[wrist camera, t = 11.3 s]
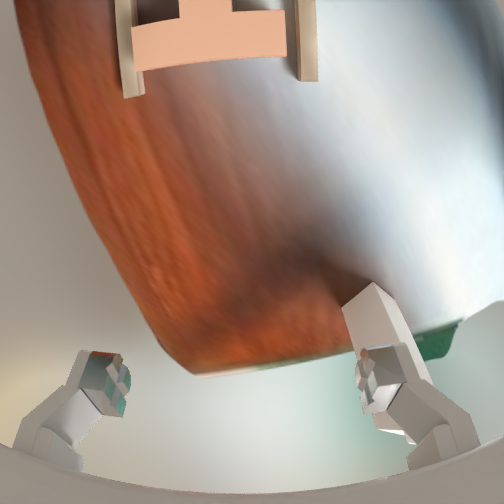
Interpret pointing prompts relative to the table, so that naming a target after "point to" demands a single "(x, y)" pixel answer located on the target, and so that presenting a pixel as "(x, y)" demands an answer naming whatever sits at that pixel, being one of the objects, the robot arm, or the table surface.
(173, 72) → the table surface
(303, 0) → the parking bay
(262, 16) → the T block
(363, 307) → the milk
